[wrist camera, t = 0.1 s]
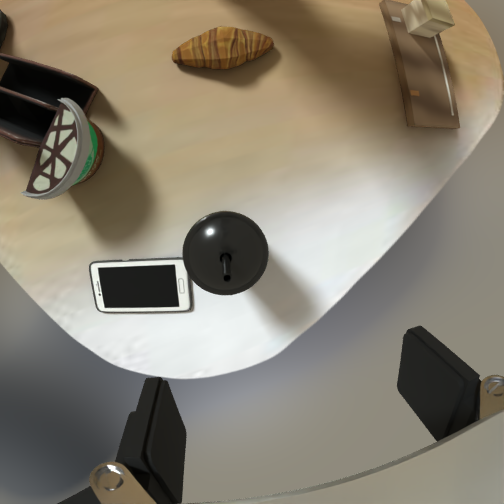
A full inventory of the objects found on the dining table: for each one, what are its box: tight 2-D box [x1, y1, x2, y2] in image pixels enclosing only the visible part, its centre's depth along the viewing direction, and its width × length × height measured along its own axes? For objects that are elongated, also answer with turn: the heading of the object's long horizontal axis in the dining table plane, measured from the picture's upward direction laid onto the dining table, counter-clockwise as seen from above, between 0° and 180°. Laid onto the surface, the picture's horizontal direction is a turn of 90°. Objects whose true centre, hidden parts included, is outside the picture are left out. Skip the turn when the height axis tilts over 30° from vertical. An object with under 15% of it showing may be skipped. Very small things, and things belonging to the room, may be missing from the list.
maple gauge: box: [401, 0, 455, 38], centre depth 30 cm, size 5×5×7 cm
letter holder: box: [0, 53, 98, 148], centre depth 26 cm, size 10×20×14 cm, turn 63°
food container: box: [21, 98, 104, 199], centre depth 31 cm, size 12×6×10 cm, turn 152°
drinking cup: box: [183, 211, 269, 295], centre depth 31 cm, size 8×8×20 cm
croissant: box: [172, 26, 274, 69], centre depth 32 cm, size 14×7×5 cm, turn 99°
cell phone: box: [89, 257, 192, 313], centre depth 41 cm, size 8×15×1 cm, turn 91°
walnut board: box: [379, 0, 460, 129], centre depth 36 cm, size 22×10×2 cm, turn 8°
